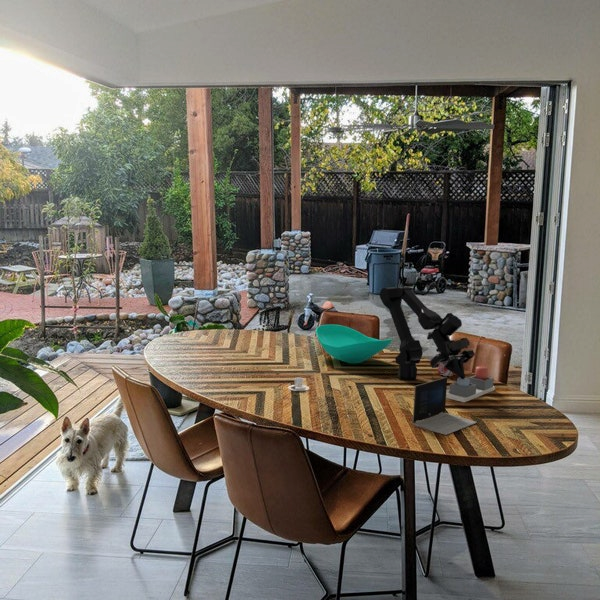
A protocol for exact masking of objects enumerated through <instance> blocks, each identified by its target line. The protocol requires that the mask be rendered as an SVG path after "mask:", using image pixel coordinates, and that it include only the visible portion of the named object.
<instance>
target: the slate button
mask: <svg viewBox="0 0 600 600" xmlns="http://www.w3.org/2000/svg"><path fill="white" fill-rule="evenodd" d="M456 382H457V385H460V386H464V387H467V386H469V383H470V379H469V378H468V377H465V378H464V379H462V378H460V377H459V376H458V377H457V379H456Z"/></svg>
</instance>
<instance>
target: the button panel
mask: <svg viewBox="0 0 600 600" xmlns="http://www.w3.org/2000/svg"><path fill="white" fill-rule="evenodd" d="M467 378H469V379H470V383H469V386H467V387H464V386H460V385H457V381H454V382H452V383H449V388H447V390H446V399H448V400H449V399H450V400H452V401H456V402H461V403H466V402H468V401H471V400H474V399H476V398H478V397H481V396H483V395H484V396H485V394H489V393H491V392H493V391H495V388H496V387H495V386H494V383H495V382H494V380H495V379H494V377H491V376H487V379H486V380H481V379H476V378H475V374H474V375H472V376H469V377H467Z"/></svg>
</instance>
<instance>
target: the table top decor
mask: <svg viewBox="0 0 600 600" xmlns="http://www.w3.org/2000/svg"><path fill="white" fill-rule="evenodd" d="M315 334H316V338H317V341H318V343H319V344H320V345H321V347H322V348H323V350H324V351H325V352H326V353H327V354H329V356H331V357H332V358H334V359H336V360H339V361H341V362H343V363H347V364H361V363H364V362H365V361H367V360H369V359H370V358H372V357H373V356H375V355H377V354H379V353H380V352H381V351H383V350H385V349H386V348H387V347H389V346H390V345H391V344H392V342H393V338H388V339H384V340H381V339H377V338H373V337H369V336H367V335H365V334H364V333H362V332H360V331H358V330H356V329H353V328H351V327H349V326H345V325H341V324H333V323H332V324H330V323H329V324H322V325H321V324H320V325H318V326H317V327H316V329H315Z"/></svg>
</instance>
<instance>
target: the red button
mask: <svg viewBox="0 0 600 600" xmlns="http://www.w3.org/2000/svg"><path fill="white" fill-rule="evenodd" d="M488 369H489V368H488V367H487V366H483V365H479V366H478V365H477V366H476V367H475V374H474V375H475V378H476V379H481V380H486V379H487V377H488V371H489V370H488Z"/></svg>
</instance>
